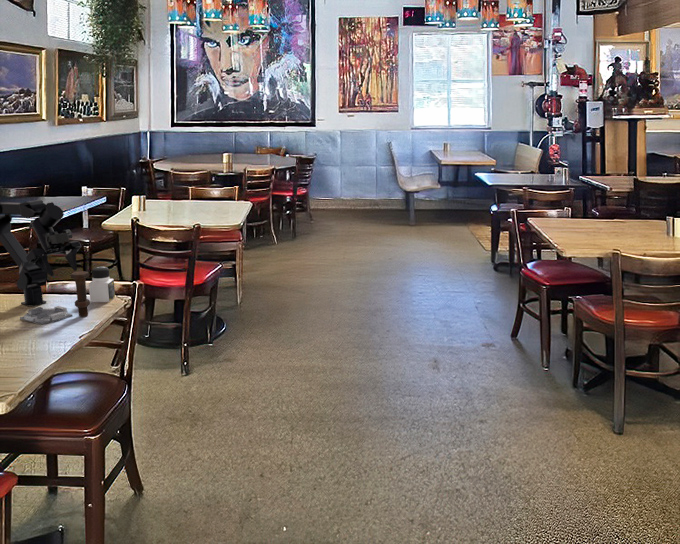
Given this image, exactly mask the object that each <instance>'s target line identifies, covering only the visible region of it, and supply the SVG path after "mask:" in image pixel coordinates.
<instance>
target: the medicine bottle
mask: <svg viewBox="0 0 680 544" xmlns="http://www.w3.org/2000/svg"><path fill="white" fill-rule="evenodd" d="M91 276H92V279H91V280H92V281H90V282H89V283H88V288H89V289H88V290H89V300H90V303H110V302H111V301H112V300H114V297H115V298H116V293H115V292H116V291H115V280H114V278H111V277H110V276H111V275H110V269H109V268H108V267H107V266H97V267H93V268H92V270H91Z"/></svg>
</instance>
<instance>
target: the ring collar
mask: <svg viewBox="0 0 680 544" xmlns="http://www.w3.org/2000/svg"><path fill="white" fill-rule="evenodd" d="M70 316H71V317H73V314H72V313H69V312H68V308H67V307H64V306H60V305H57V306H54V307H52V308H51V307H49V308H48V307H47V308H43V306H39V307H34V308H30V309H27V312H26V313H25V314H24V315H23V316H20V317H19V320H21V319H22V321H25V322H30V323H32V324H38V325H40V324H41V325H42V324H43V325H45V324H49V323H52V322H57V321H59V319H60V320H63V319H62V318H64V319H67V318H71V317H70ZM56 320H57V321H56ZM41 325H40V326H41ZM43 325H42V326H43Z"/></svg>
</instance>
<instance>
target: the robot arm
mask: <svg viewBox="0 0 680 544" xmlns="http://www.w3.org/2000/svg"><path fill="white" fill-rule="evenodd" d="M12 215H20V216H21V217H22V218H25V219H32V218H34V219H32V220H30V224H29V226H28V227H29V229H33V230H34V232H35V234H36V236H37V241H36V242H37V243H38V244H40V246H41V247H35V248H32V249H31V250H29V252H28V253H27V252H26V250H25V249H24V248H23V246H22V245H21V243H20V242H19V240H18V239H17V238H16V236H15V235H14V234H13V233H12V224H11V223H12V220H13V217H12ZM63 217H64V211H63V209H62V208H61V207H60V206H58V205H55V204H54V202H53V201H51V202H47V203H45V202H44V200H41V199H36V200H29V201H24V202H9V201H4V202H3V201H2V202H0V243H1V244H2V245H3V247H4V249H5V251H6V252H7V254H9V255H10V257H11V258H12V259H13V261H14V262H15V264H16V265H17V267H18V268H19V271H18V276H19V278H18V279H17V281H16V285H17V288H18V289H19V290H23V298H24V299H23V300H24V301H22V302H21V303H20V304H21V305H24V306H27V307H35V306H38V305H42V304H46V303H47V302H48V301H47V300H43V298H44V297H43V291H42V286H43V287H44V286H46V285H47V281H48V275H49V276H50V277H54V276H55V273H54V271H53V269H52V266H51V265H50V263H49V260H48V256H50V255H56V254H60V253H63V255H64V258H65V259H66V261H67V263H68V264H69V265H70V268H71V269H72V270H73V271H74V272H77V270H78V265H77V252H79V251H80V250H81V248H82V247H83V246H82V244H81V242H80V241H78V240H73V241H70V239H72V238H73V234H72V231H71V230H70V229H63V230H62V233H59V232H58V231H56V230H55V231H54V228H53V227H55V226H56V225H57V224H58V223H59V222H60V221H61V220H62V218H63ZM65 242H67V243H66V244H65ZM63 245H64V246H63Z"/></svg>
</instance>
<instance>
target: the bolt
mask: <svg viewBox="0 0 680 544" xmlns="http://www.w3.org/2000/svg"><path fill="white" fill-rule="evenodd" d="M87 278H90V273H89V272H88V271H82V270H81V271H74V272H72V273H71V274H70V279H73V280H74V282H75V288H76V289H75V290H76V300H75V302H74V307H76V308H77V309H78V310H77V311H78V317H81V318H83V317H84V318H85V317H88V316H89V306H90V305H91V302H90V299H88V297H87V284H86V283H87V281H86V279H87Z"/></svg>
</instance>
